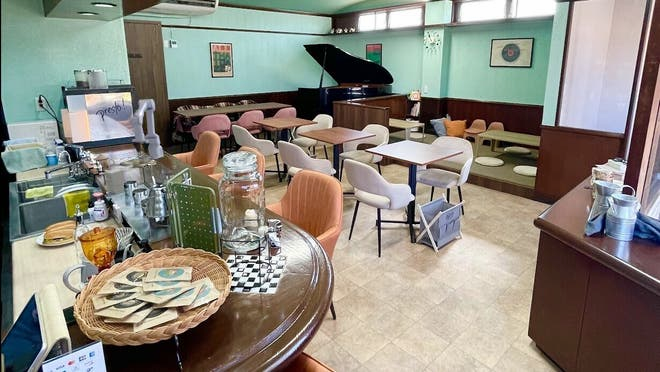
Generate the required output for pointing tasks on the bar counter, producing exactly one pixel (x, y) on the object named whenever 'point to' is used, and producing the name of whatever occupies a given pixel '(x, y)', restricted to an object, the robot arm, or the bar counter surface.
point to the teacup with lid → (104, 161)
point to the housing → (144, 159)
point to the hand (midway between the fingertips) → (142, 152)
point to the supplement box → (115, 180)
